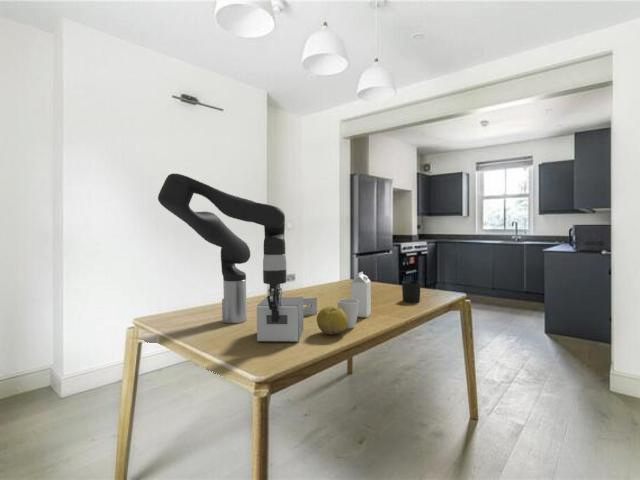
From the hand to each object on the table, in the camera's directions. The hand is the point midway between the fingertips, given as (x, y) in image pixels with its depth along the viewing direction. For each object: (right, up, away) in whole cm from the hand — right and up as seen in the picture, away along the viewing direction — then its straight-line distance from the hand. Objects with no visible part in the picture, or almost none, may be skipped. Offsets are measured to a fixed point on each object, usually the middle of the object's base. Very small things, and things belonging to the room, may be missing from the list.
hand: (275, 321), depth 115 cm
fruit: (+19, -8, +13) cm, 24 cm away
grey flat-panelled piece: (+1, -7, +11) cm, 13 cm away
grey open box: (+1, -8, +12) cm, 14 cm away
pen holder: (+62, -6, +71) cm, 94 cm away
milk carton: (+33, -7, +40) cm, 52 cm away
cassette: (+8, -7, +42) cm, 43 cm away
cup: (+25, -7, +23) cm, 35 cm away
